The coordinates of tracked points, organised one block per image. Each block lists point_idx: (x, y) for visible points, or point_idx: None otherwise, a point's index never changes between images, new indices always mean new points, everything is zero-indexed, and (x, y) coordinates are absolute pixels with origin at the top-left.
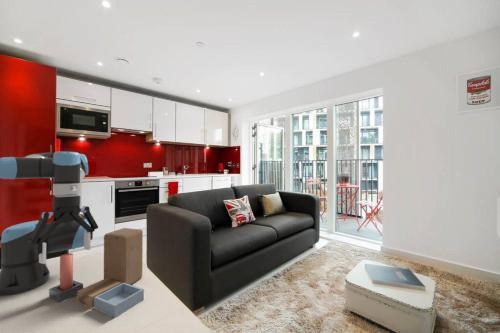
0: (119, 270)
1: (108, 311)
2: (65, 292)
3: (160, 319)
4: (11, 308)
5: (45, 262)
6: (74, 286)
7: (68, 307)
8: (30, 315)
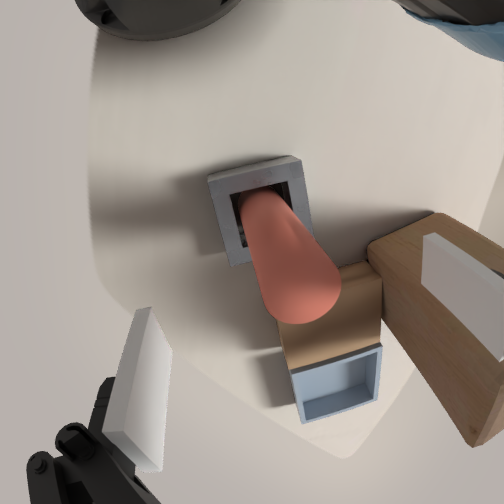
0: (404, 343)
1: (294, 395)
2: (248, 260)
3: (335, 436)
4: (103, 163)
5: (169, 355)
6: None
7: (239, 300)
8: (148, 264)
